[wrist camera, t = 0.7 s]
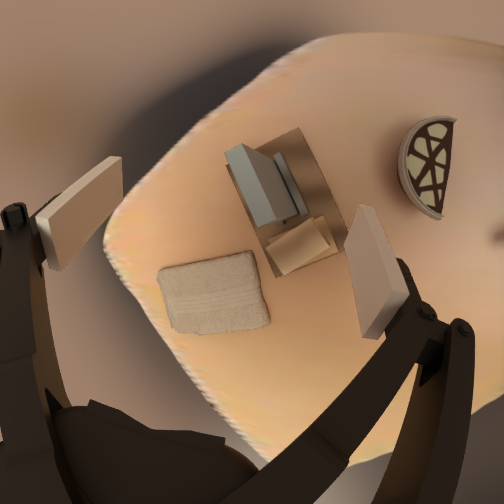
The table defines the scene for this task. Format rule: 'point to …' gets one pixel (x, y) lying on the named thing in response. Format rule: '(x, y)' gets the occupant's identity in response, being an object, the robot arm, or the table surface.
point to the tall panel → (261, 185)
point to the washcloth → (214, 295)
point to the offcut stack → (302, 245)
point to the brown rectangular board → (297, 192)
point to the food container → (426, 163)
